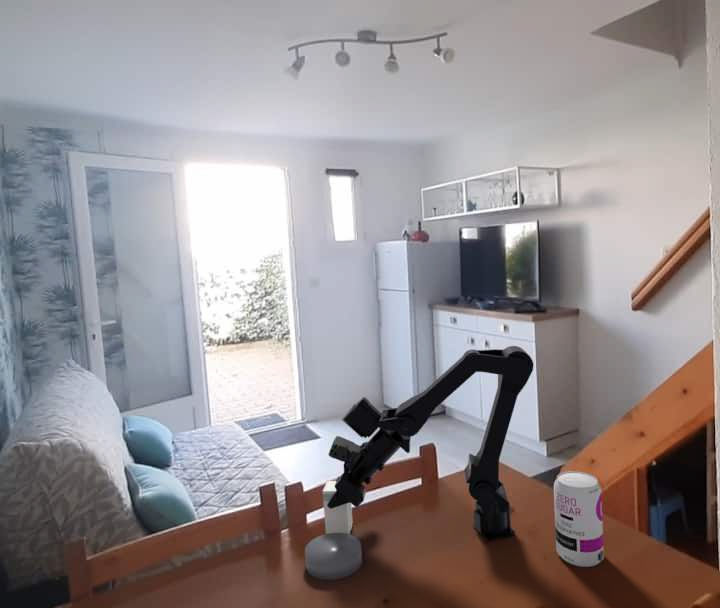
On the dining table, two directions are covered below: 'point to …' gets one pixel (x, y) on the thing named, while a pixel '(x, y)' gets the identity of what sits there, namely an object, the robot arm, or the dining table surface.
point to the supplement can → (578, 518)
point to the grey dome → (333, 556)
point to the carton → (336, 512)
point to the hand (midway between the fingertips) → (331, 501)
